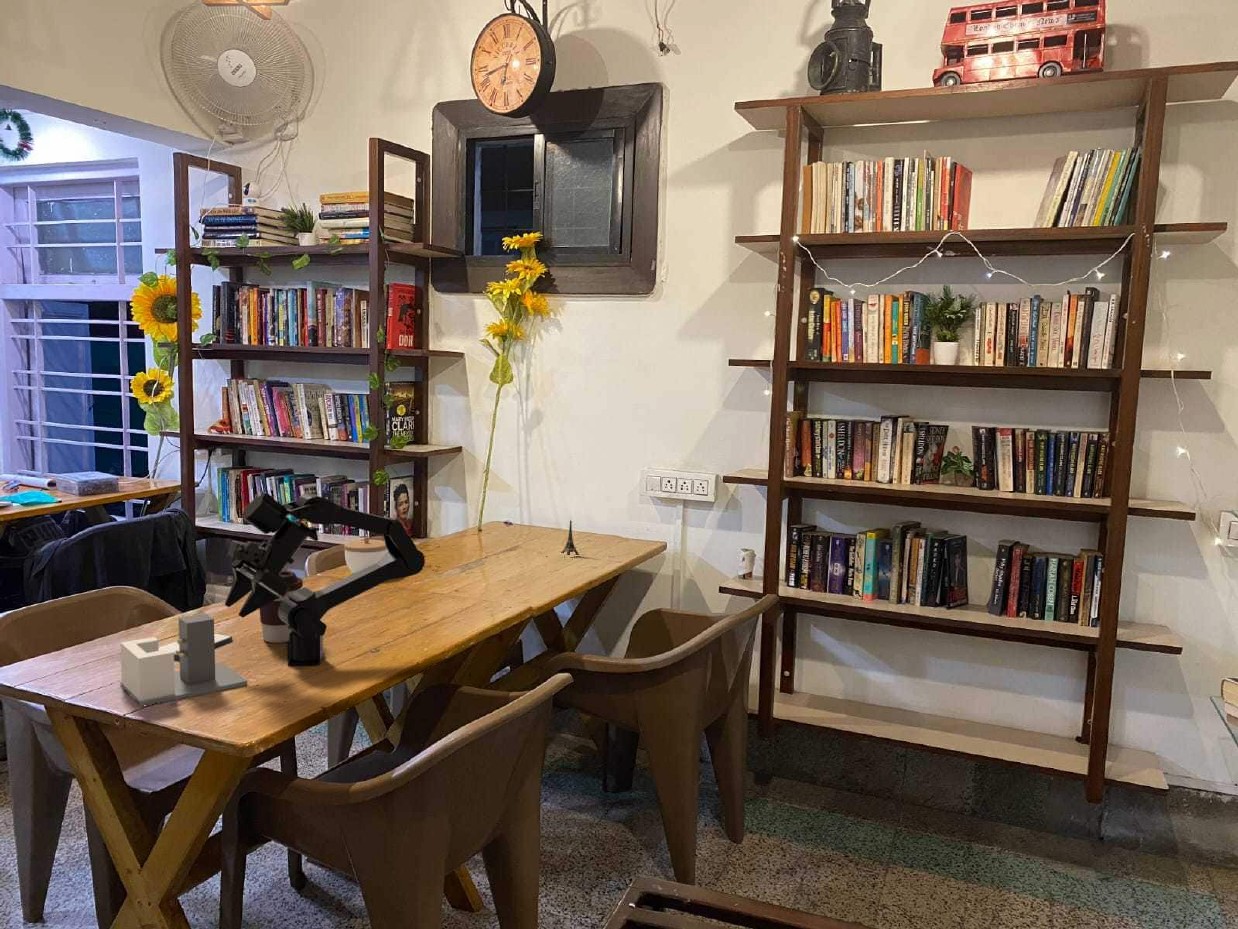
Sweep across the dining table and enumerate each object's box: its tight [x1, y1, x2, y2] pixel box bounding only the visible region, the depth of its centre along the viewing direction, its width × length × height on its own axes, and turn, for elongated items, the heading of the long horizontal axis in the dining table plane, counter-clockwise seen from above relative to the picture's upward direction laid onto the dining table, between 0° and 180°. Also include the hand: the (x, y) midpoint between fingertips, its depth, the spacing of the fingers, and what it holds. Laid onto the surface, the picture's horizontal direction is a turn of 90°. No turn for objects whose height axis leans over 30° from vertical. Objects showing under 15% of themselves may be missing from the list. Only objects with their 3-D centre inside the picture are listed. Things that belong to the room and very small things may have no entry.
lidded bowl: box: [343, 536, 388, 574], centre depth 277 cm, size 13×13×11 cm
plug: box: [175, 613, 216, 684], centre depth 183 cm, size 6×5×12 cm
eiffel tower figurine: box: [560, 519, 580, 555], centre depth 310 cm, size 15×10×13 cm
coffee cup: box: [256, 570, 304, 644], centre depth 213 cm, size 10×10×15 cm
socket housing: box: [120, 636, 248, 707], centre depth 182 cm, size 19×14×9 cm
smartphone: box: [158, 633, 233, 661], centre depth 206 cm, size 9×2×16 cm
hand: (233, 611), depth 188 cm, fingers open, 9 cm apart
